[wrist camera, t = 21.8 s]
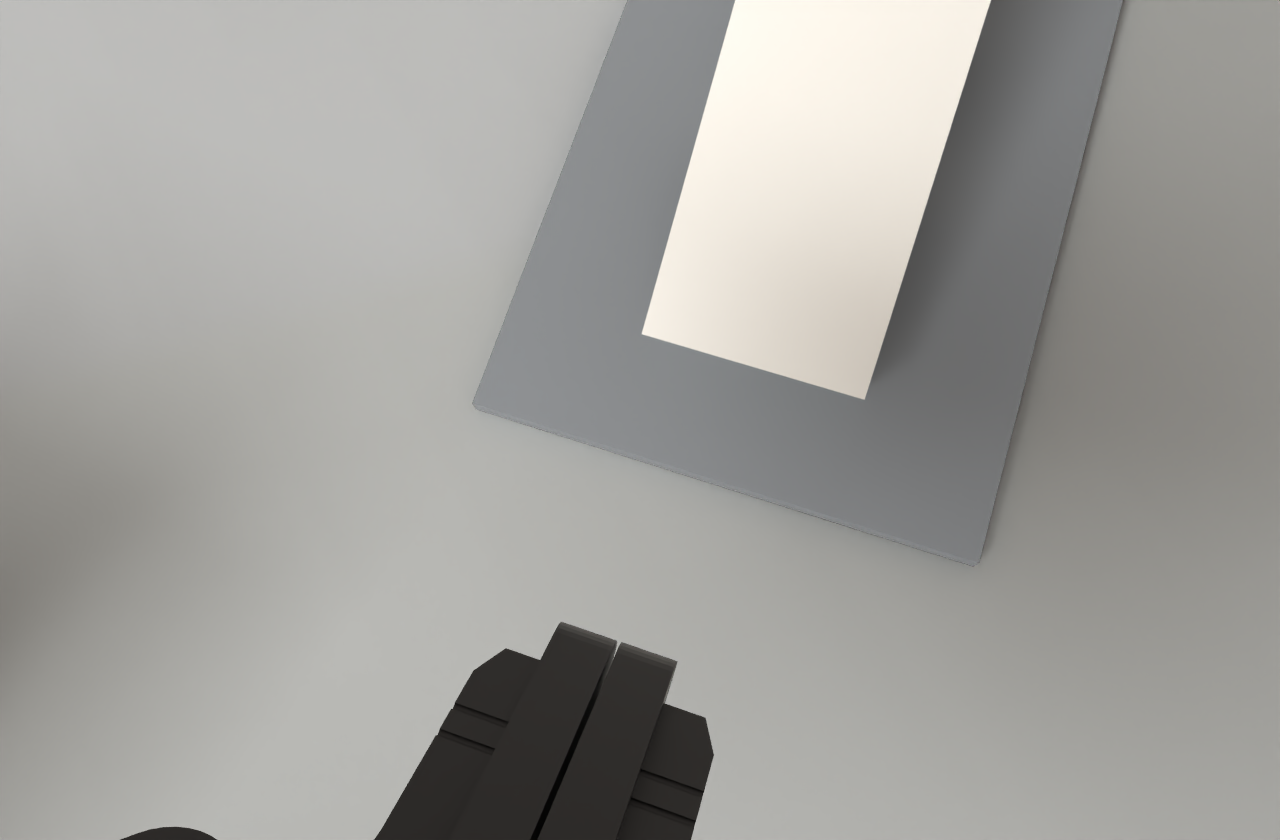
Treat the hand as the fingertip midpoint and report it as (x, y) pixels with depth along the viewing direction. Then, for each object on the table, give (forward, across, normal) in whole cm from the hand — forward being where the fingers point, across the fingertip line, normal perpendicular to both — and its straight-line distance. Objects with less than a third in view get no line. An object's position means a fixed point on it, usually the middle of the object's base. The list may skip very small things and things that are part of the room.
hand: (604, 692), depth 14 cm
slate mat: (+21, 0, -5) cm, 22 cm away
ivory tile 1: (+13, 0, +1) cm, 13 cm away
